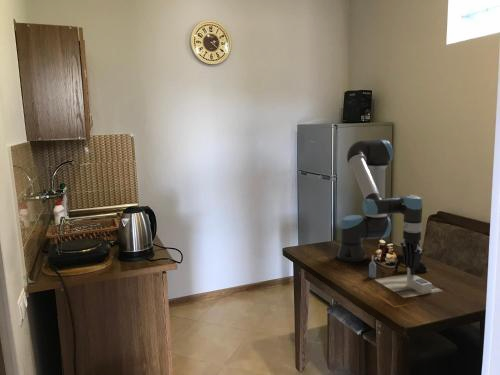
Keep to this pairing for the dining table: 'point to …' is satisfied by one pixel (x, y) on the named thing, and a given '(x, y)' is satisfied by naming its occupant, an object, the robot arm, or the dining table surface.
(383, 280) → the panel
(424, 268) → the gun
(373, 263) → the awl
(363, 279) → the dining table surface
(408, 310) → the dining table surface
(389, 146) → the robot arm
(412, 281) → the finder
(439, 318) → the dining table surface
